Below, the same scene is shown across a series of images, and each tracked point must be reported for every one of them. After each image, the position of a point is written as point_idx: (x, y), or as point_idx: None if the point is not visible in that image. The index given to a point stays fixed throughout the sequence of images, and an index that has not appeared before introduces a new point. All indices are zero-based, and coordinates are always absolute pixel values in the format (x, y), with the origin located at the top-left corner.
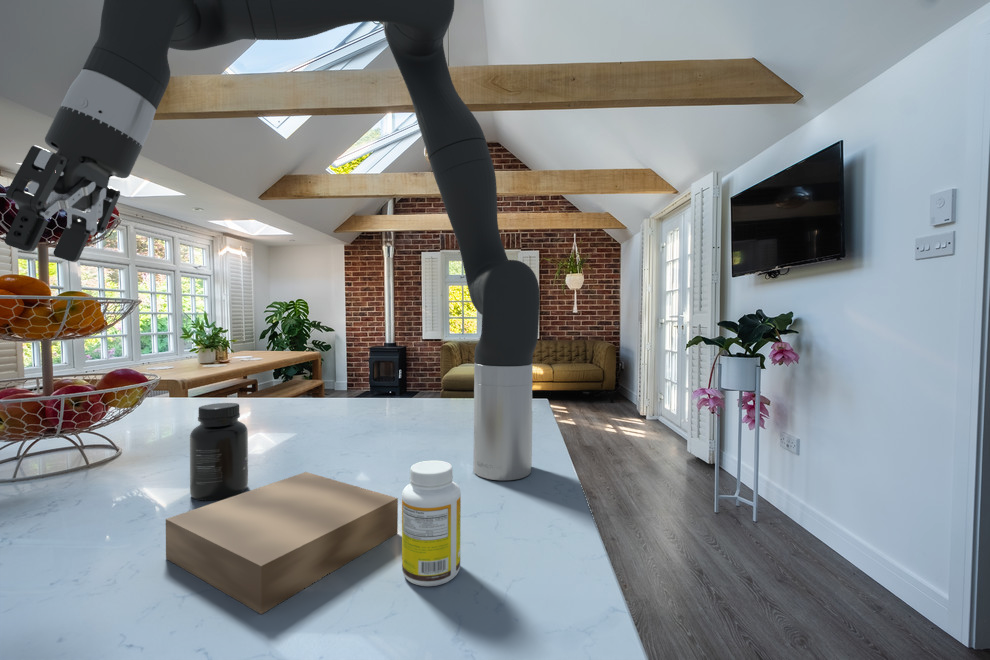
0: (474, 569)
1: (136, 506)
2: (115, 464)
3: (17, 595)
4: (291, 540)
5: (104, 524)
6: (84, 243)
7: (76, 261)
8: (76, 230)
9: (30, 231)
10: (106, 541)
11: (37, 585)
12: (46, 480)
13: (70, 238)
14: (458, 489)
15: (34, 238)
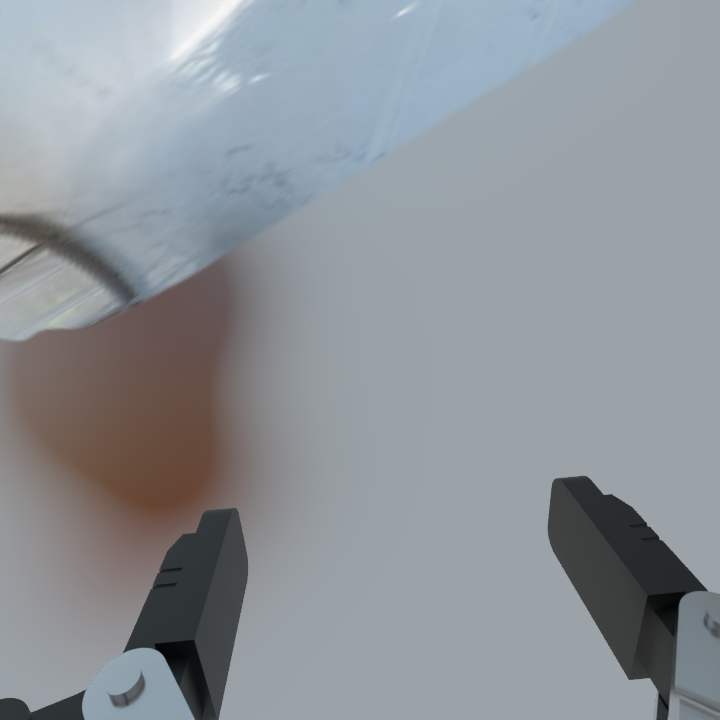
0: None
1: (274, 25)
2: (30, 195)
3: (546, 47)
4: None
5: (348, 47)
6: (188, 589)
7: (205, 511)
8: (197, 689)
9: (643, 541)
10: (421, 4)
11: (530, 36)
12: (131, 261)
13: (221, 634)
14: None
15: (614, 511)
